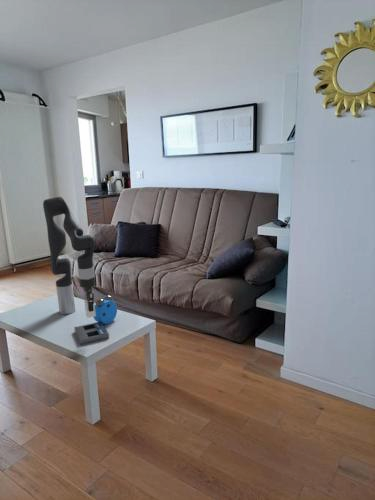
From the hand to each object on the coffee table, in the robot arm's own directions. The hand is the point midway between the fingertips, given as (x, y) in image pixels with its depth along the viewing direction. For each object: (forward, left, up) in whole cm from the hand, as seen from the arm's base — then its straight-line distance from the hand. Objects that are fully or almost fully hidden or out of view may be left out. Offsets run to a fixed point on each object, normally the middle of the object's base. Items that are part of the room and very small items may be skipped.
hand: (90, 309), depth 171 cm
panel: (-5, 0, -16) cm, 17 cm away
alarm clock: (-17, +11, -16) cm, 26 cm away
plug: (0, 0, -3) cm, 3 cm away
